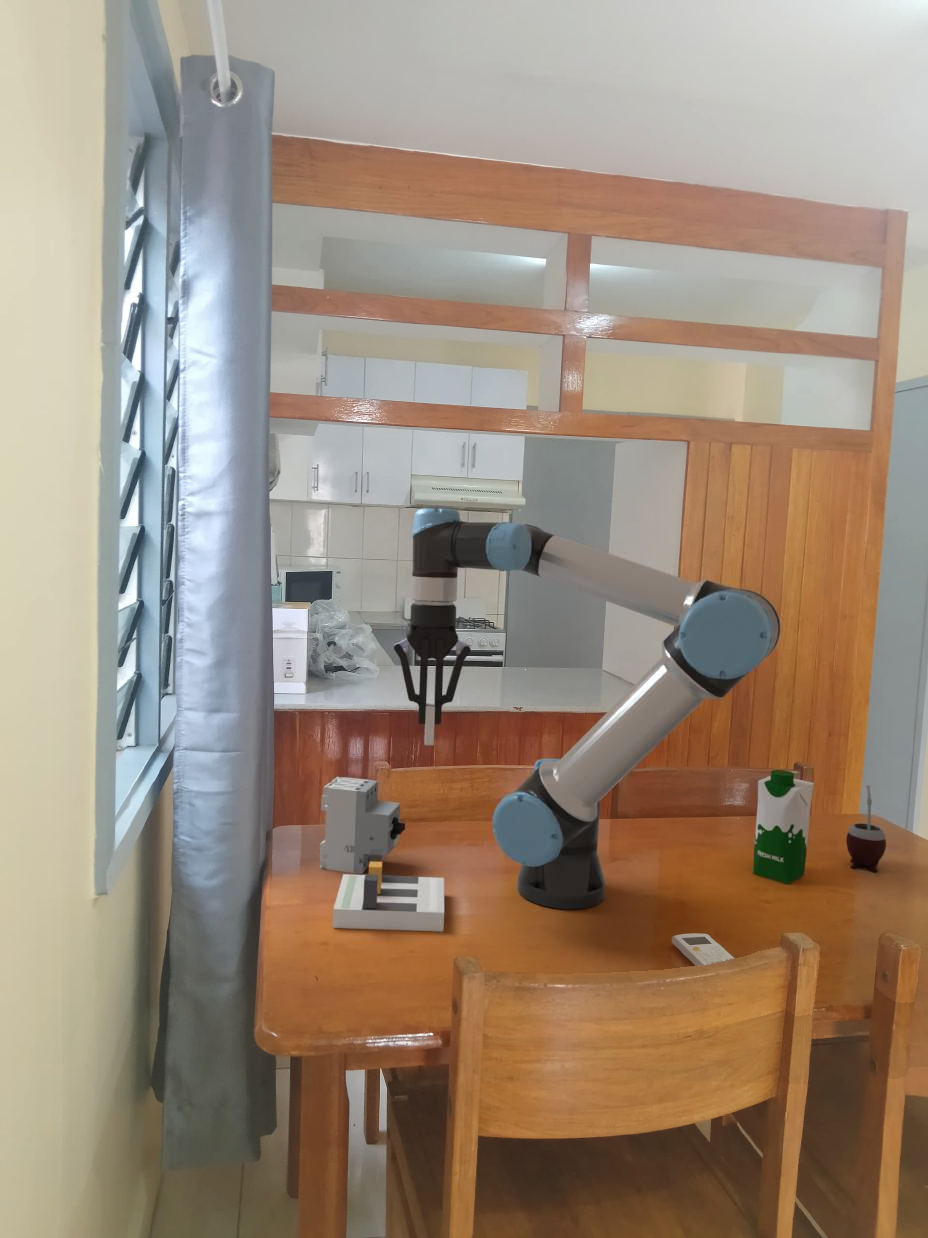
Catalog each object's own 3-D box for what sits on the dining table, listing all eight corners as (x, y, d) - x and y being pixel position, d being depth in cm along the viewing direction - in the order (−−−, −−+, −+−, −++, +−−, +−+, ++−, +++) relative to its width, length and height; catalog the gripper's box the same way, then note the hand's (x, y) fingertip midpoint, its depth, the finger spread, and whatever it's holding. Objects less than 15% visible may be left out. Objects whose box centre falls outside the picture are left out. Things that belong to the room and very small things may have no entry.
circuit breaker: (395, 878, 158) (398, 795, 156) (319, 868, 160) (321, 787, 159) (406, 863, 165) (410, 784, 164) (333, 854, 168) (336, 776, 166)
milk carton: (746, 873, 168) (754, 769, 166) (766, 862, 174) (775, 762, 173) (791, 887, 162) (800, 780, 160) (811, 875, 168) (820, 772, 167)
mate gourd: (864, 875, 170) (871, 798, 168) (833, 861, 177) (839, 787, 176) (893, 871, 172) (900, 796, 171) (861, 857, 180) (868, 785, 178)
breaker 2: (377, 902, 139) (378, 874, 139) (376, 908, 137) (377, 880, 137) (364, 901, 139) (365, 874, 139) (363, 908, 137) (364, 880, 137)
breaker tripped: (381, 888, 145) (382, 862, 144) (380, 894, 142) (381, 867, 142) (369, 887, 145) (370, 861, 144) (367, 893, 142) (368, 867, 142)
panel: (443, 895, 151) (443, 877, 151) (443, 931, 137) (444, 912, 137) (342, 891, 151) (343, 874, 150) (332, 928, 137) (333, 908, 137)
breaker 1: (381, 875, 150) (382, 850, 150) (380, 880, 148) (381, 855, 148) (369, 874, 150) (370, 849, 150) (368, 880, 148) (369, 854, 147)
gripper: (471, 602, 151) (466, 739, 153) (394, 599, 150) (390, 737, 152) (474, 605, 144) (469, 749, 146) (393, 603, 143) (389, 747, 145)
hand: (429, 743), depth 149 cm, fingers closed
